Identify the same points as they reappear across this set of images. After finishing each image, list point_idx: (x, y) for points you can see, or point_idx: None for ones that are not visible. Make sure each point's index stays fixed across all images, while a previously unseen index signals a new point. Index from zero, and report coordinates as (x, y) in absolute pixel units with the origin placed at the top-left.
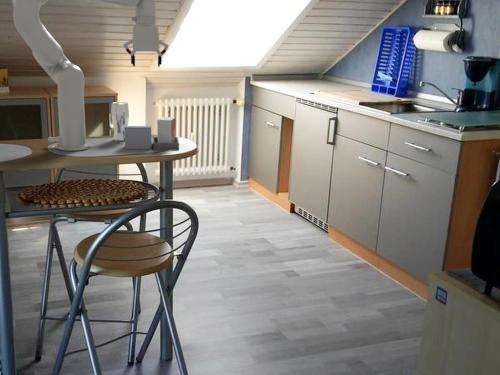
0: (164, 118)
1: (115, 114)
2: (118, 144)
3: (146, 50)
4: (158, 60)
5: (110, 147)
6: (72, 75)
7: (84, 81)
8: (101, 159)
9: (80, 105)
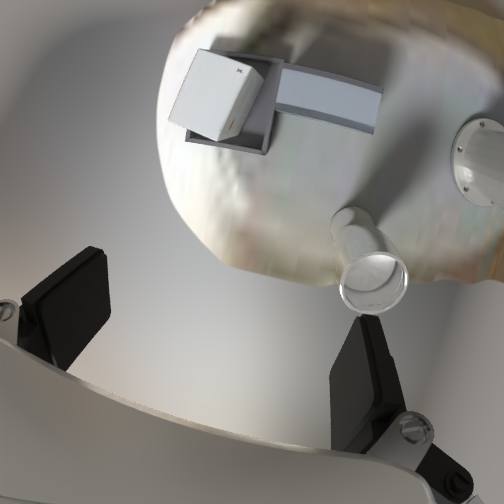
0: (216, 92)
1: (391, 241)
2: (374, 163)
3: (136, 409)
4: (62, 278)
5: (403, 129)
6: None
7: None
8: (434, 6)
9: None
